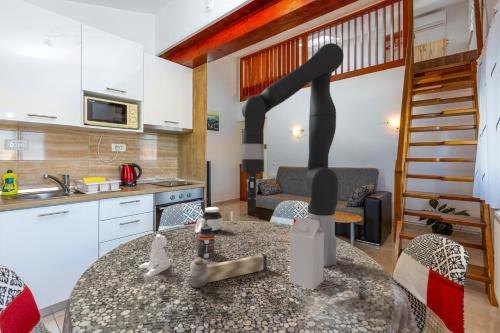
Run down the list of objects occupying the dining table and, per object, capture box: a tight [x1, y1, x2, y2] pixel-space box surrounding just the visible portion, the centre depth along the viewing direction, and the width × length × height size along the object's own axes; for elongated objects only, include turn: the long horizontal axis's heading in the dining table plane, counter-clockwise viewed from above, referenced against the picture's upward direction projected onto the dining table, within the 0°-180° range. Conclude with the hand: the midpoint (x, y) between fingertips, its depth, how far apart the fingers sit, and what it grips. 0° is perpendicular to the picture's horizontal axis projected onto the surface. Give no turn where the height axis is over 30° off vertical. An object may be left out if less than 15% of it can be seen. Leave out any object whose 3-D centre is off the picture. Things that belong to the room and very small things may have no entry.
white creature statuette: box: [139, 233, 172, 278], centre depth 75 cm, size 10×9×12 cm
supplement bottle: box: [197, 226, 216, 259], centre depth 86 cm, size 6×6×11 cm
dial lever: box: [189, 253, 268, 288], centre depth 69 cm, size 23×4×6 cm, turn 117°
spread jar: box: [194, 206, 223, 234], centre depth 119 cm, size 12×11×12 cm
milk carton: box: [288, 216, 324, 291], centre depth 67 cm, size 7×7×19 cm
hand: (252, 209), depth 79 cm, fingers open, 3 cm apart
